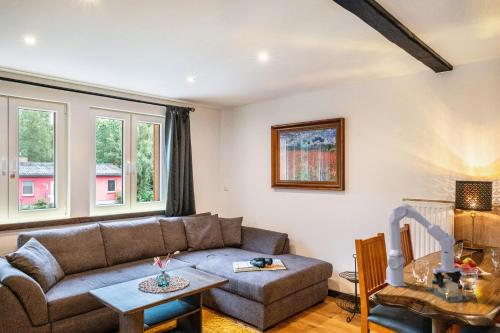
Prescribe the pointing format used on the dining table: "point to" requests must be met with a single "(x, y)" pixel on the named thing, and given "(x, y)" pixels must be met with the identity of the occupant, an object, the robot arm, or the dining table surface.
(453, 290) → the module block
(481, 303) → the dining table surface
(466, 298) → the chassis
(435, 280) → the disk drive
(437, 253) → the dining table surface
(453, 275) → the robot arm
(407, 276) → the dining table surface
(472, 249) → the dining table surface
